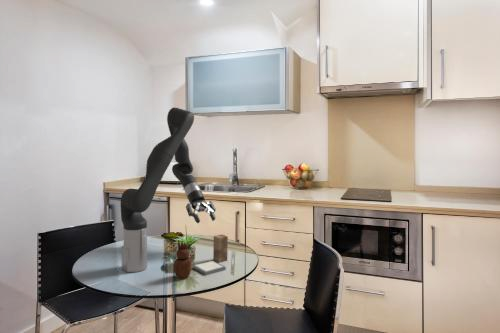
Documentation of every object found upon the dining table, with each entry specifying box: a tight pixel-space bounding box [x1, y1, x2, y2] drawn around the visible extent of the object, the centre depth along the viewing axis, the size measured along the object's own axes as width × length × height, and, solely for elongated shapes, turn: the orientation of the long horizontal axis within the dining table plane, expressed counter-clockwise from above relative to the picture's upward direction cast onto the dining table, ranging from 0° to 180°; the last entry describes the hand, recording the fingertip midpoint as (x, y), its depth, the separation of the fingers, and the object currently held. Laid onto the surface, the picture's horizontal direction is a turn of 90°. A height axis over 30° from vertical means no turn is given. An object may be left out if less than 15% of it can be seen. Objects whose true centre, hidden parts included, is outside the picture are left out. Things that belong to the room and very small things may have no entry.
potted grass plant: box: [173, 239, 193, 279], centre depth 136 cm, size 7×6×15 cm
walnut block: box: [212, 234, 229, 264], centre depth 156 cm, size 4×4×11 cm
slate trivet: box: [192, 260, 227, 276], centre depth 145 cm, size 10×10×1 cm
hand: (206, 221), depth 164 cm, fingers open, 8 cm apart
